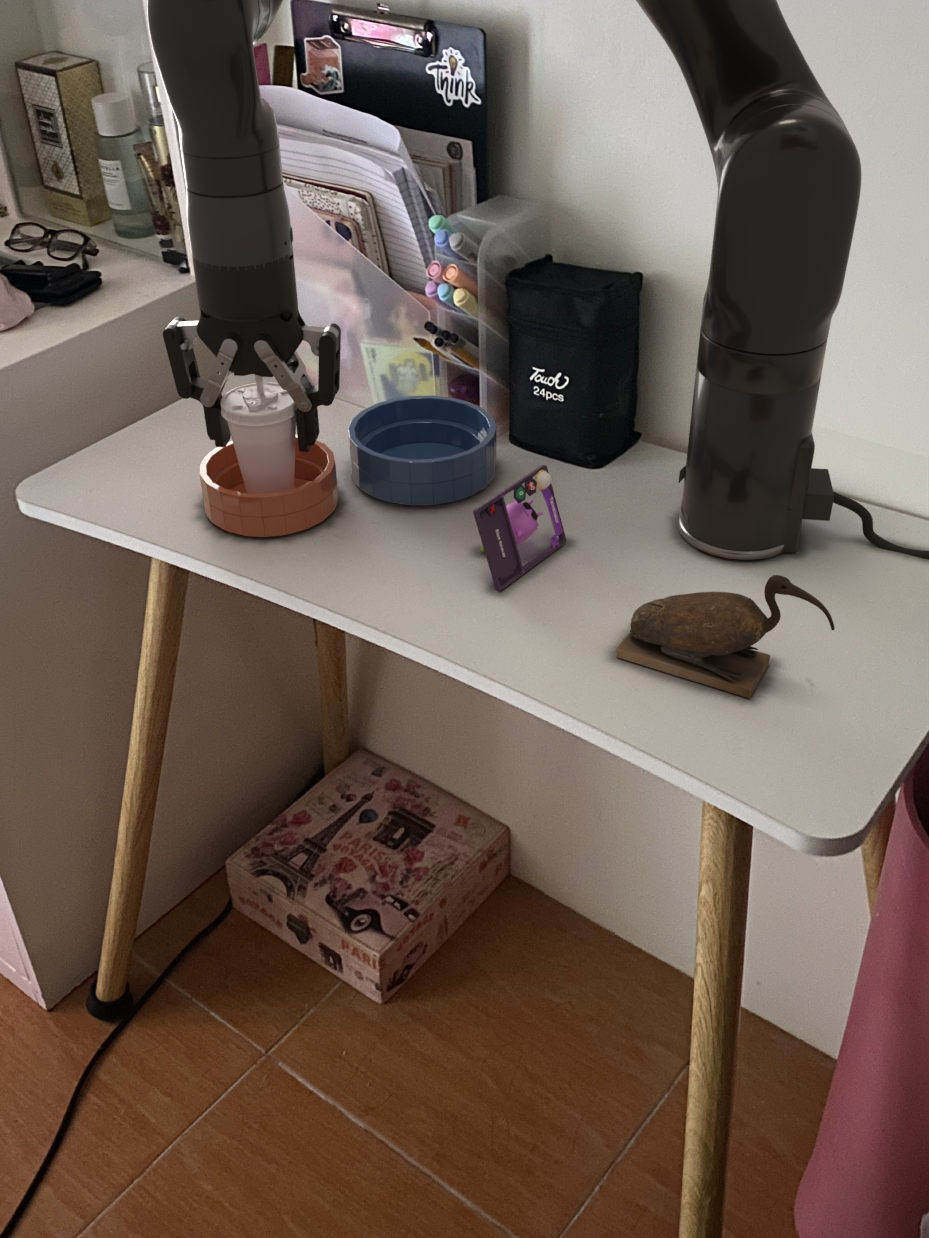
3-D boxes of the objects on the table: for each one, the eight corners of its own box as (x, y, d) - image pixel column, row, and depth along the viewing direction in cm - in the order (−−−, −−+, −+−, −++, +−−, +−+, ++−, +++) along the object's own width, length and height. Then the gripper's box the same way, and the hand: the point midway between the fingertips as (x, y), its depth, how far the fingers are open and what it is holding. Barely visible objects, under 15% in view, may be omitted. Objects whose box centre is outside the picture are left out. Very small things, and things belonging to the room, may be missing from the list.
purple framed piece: (483, 510, 90) (553, 463, 96) (432, 510, 94) (503, 465, 99) (507, 591, 93) (574, 542, 98) (457, 588, 96) (524, 540, 102)
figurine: (829, 681, 84) (851, 576, 79) (810, 719, 81) (832, 611, 76) (639, 625, 90) (648, 523, 84) (615, 658, 86) (623, 554, 81)
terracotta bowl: (349, 476, 108) (346, 436, 106) (321, 543, 99) (318, 500, 97) (227, 470, 110) (221, 429, 107) (188, 535, 100) (181, 492, 98)
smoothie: (316, 485, 107) (301, 332, 98) (301, 523, 101) (284, 365, 93) (244, 482, 107) (223, 330, 99) (225, 520, 102) (202, 363, 94)
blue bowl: (502, 443, 113) (503, 398, 111) (486, 513, 103) (487, 466, 100) (366, 436, 115) (364, 392, 112) (337, 505, 104) (334, 458, 102)
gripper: (131, 259, 89) (166, 462, 99) (324, 266, 88) (340, 471, 97) (165, 226, 95) (194, 421, 105) (346, 232, 94) (359, 429, 103)
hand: (265, 444), depth 101 cm, fingers closed on smoothie, 6 cm apart
